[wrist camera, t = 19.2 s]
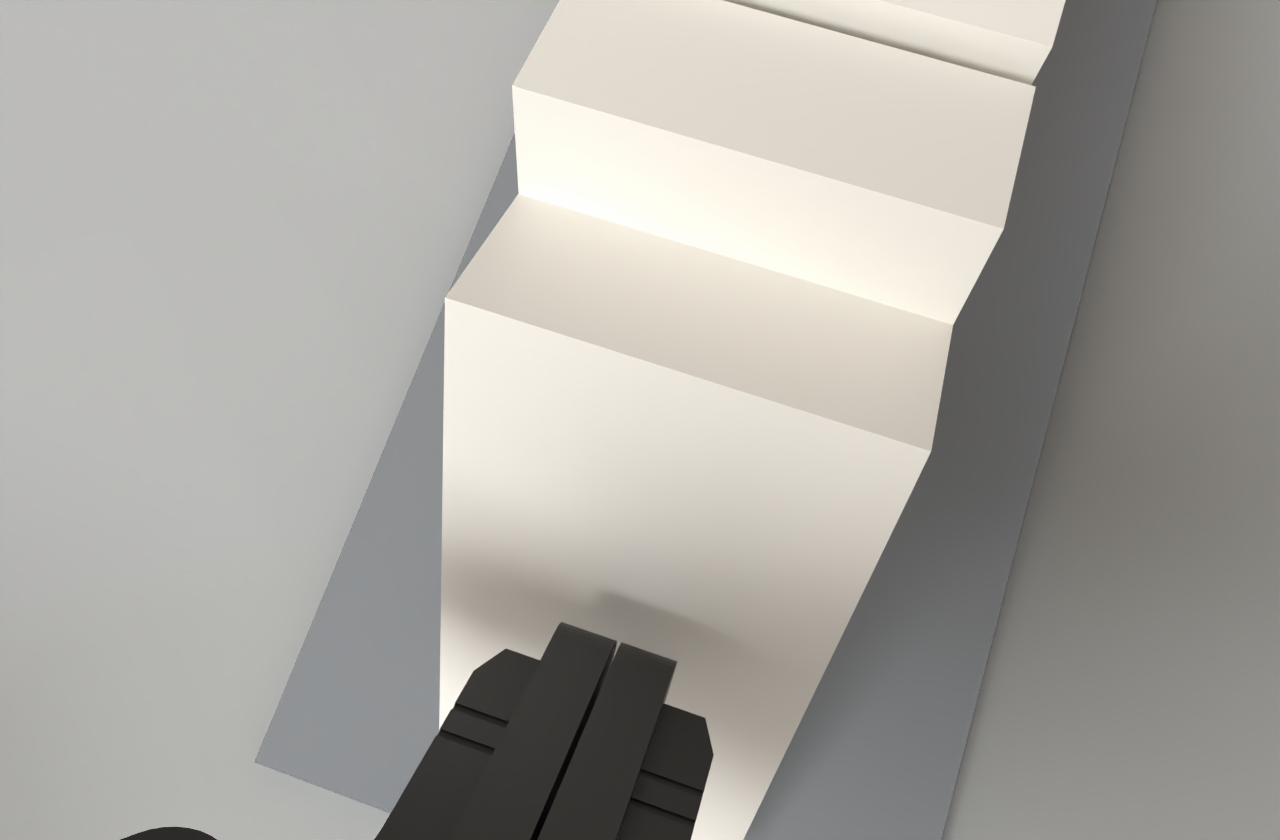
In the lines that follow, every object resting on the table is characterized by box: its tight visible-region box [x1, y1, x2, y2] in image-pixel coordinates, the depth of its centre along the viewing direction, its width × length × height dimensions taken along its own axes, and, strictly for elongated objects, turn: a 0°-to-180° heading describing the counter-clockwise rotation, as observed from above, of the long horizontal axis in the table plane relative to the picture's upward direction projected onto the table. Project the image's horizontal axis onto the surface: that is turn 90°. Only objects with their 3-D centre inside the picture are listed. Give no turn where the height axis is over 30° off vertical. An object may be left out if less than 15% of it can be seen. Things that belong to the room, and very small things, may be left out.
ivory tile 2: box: [512, 0, 1036, 325], centre depth 16 cm, size 2×5×11 cm, turn 71°
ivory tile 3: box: [723, 0, 1066, 85], centre depth 17 cm, size 2×5×11 cm, turn 71°
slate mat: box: [255, 0, 1157, 840], centre depth 23 cm, size 26×12×1 cm, turn 161°
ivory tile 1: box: [439, 194, 953, 840], centre depth 16 cm, size 2×5×11 cm, turn 71°
